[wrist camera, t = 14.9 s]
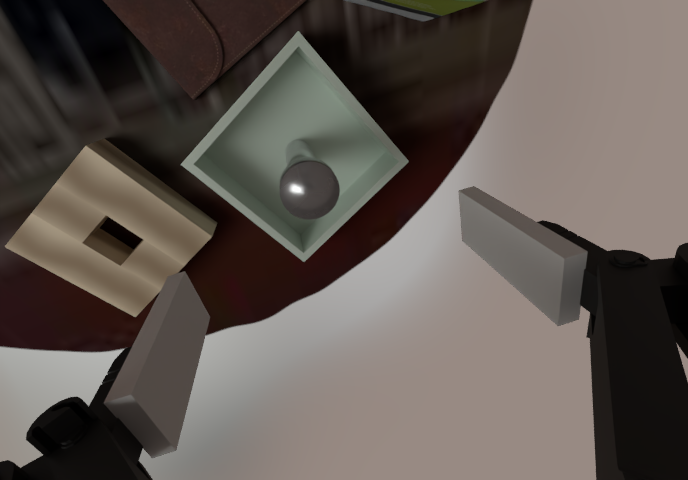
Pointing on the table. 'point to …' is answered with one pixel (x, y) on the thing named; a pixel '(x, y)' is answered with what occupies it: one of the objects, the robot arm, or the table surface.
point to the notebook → (201, 33)
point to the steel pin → (307, 183)
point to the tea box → (419, 7)
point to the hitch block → (102, 248)
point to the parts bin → (285, 126)
